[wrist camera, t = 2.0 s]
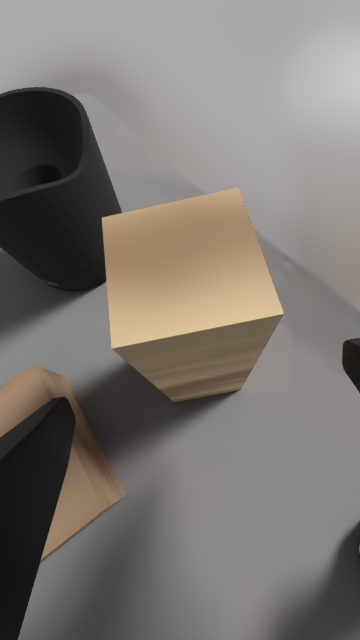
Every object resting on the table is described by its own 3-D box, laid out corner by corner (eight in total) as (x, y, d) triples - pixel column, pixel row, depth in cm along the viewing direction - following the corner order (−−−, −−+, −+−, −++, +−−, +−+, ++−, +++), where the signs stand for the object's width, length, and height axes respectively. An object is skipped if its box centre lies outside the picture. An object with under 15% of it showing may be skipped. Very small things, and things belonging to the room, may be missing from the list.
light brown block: (127, 494, 17) (103, 510, 14) (-4, 597, 16) (-70, 645, 12) (65, 377, 21) (33, 364, 17) (-47, 455, 19) (-108, 459, 16)
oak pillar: (240, 389, 19) (283, 314, 7) (174, 402, 19) (111, 348, 7) (224, 327, 20) (239, 187, 9) (164, 340, 20) (101, 217, 9)
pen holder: (23, 233, 26) (-80, 124, 17) (115, 194, 27) (64, 68, 18) (44, 315, 22) (-73, 232, 13) (150, 268, 23) (109, 157, 14)
